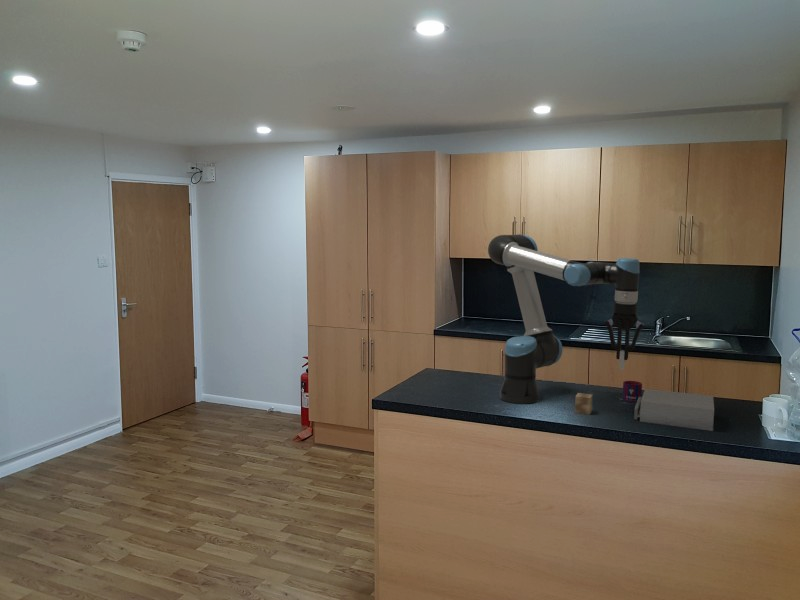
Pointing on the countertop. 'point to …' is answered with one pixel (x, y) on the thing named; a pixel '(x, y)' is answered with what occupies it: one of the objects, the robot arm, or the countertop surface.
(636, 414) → the tray
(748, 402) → the countertop surface
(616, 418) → the countertop surface
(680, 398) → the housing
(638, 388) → the mug
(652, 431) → the countertop surface
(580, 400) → the block
